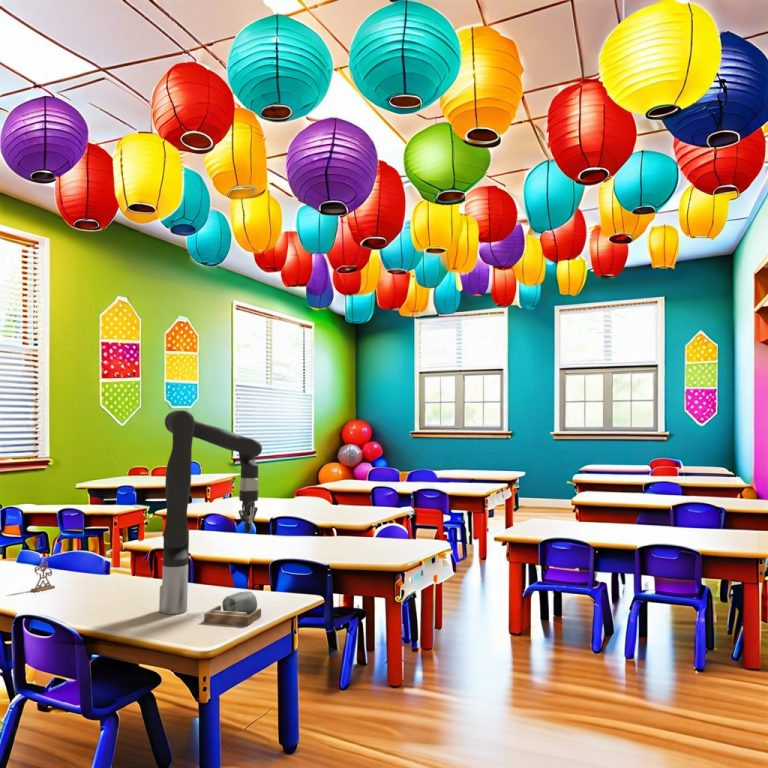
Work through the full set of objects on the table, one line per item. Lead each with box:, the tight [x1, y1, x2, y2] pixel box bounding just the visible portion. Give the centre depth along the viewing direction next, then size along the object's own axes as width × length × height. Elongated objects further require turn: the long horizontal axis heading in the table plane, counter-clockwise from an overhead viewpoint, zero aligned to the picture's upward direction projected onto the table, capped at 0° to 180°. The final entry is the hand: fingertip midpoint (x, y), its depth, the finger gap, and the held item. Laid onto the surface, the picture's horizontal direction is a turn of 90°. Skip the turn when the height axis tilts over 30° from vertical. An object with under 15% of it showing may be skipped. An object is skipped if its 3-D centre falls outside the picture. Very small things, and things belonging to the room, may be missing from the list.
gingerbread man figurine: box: [30, 560, 56, 593], centre depth 287 cm, size 9×4×12 cm, turn 154°
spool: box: [221, 590, 258, 614], centre depth 252 cm, size 14×10×10 cm
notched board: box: [203, 605, 262, 627], centre depth 246 cm, size 17×11×4 cm, turn 77°
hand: (247, 532), depth 275 cm, fingers closed
